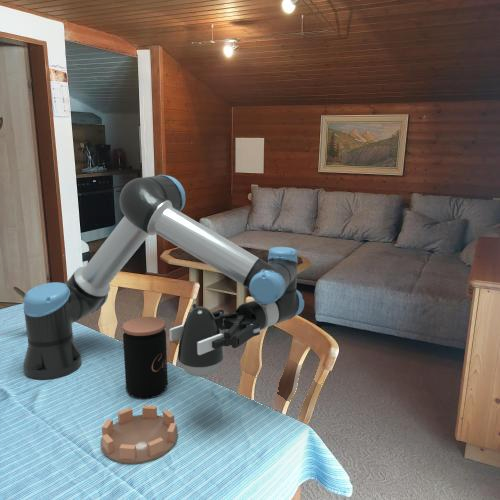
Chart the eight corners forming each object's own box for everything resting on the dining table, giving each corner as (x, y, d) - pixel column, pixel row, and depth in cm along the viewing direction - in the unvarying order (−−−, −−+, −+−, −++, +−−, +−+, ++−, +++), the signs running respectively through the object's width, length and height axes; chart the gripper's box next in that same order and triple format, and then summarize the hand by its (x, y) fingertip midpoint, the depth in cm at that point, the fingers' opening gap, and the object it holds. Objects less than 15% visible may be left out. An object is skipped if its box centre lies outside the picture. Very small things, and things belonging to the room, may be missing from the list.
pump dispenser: (215, 357, 109) (215, 297, 106) (230, 377, 100) (230, 312, 96) (173, 364, 105) (171, 302, 102) (184, 386, 96) (183, 318, 93)
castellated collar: (89, 435, 99) (88, 422, 98) (155, 409, 109) (154, 397, 108) (120, 475, 87) (119, 460, 86) (191, 442, 97) (191, 428, 96)
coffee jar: (158, 402, 112) (155, 334, 108) (118, 397, 114) (114, 330, 110) (173, 381, 122) (171, 318, 118) (137, 376, 124) (133, 315, 121)
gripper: (289, 342, 107) (217, 375, 91) (226, 318, 122) (155, 342, 106) (290, 312, 105) (217, 340, 89) (226, 291, 120) (154, 312, 104)
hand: (184, 341), depth 98 cm, fingers closed on pump dispenser, 9 cm apart
